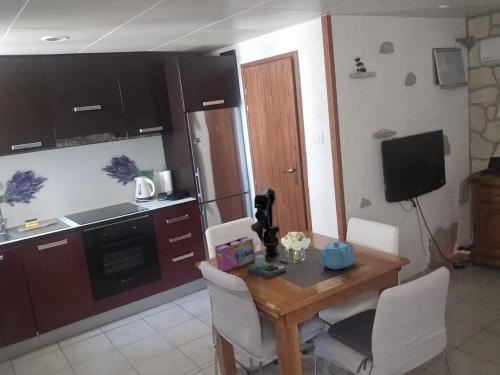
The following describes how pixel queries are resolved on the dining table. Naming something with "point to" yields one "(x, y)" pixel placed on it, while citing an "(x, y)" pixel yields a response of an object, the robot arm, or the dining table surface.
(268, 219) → the robot arm
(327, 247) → the decorative pot
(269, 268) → the panel
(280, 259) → the pair of grey bars
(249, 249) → the gum box
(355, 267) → the dining table surface
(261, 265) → the plug
